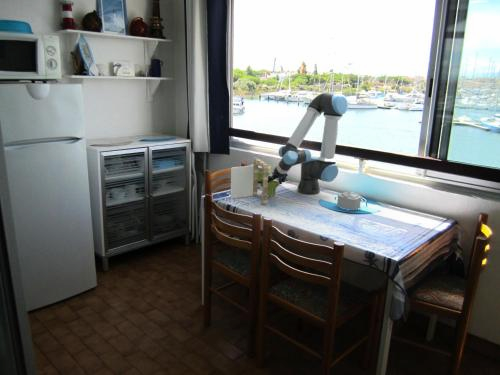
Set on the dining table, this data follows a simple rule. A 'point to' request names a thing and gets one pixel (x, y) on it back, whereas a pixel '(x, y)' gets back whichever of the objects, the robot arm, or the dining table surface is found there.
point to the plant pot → (271, 188)
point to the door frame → (265, 179)
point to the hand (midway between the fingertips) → (268, 187)
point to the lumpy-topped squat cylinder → (349, 200)
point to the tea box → (261, 173)
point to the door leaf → (242, 181)
